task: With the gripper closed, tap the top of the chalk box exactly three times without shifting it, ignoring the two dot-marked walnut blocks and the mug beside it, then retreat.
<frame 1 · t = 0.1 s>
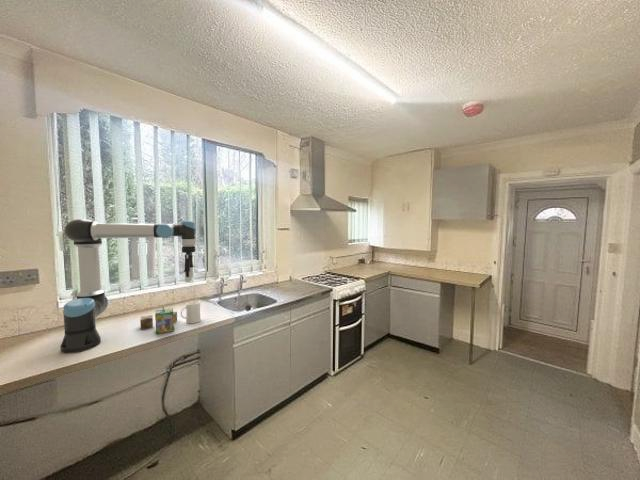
hand: (189, 279, 162), 28 cm above the countertop, fingers open, 13 cm apart
walnut block A: (146, 327, 158), on the countertop
mug: (190, 321, 167), on the countertop
chalk box: (165, 330, 154), on the countertop
walnut block B: (170, 322, 165), on the countertop
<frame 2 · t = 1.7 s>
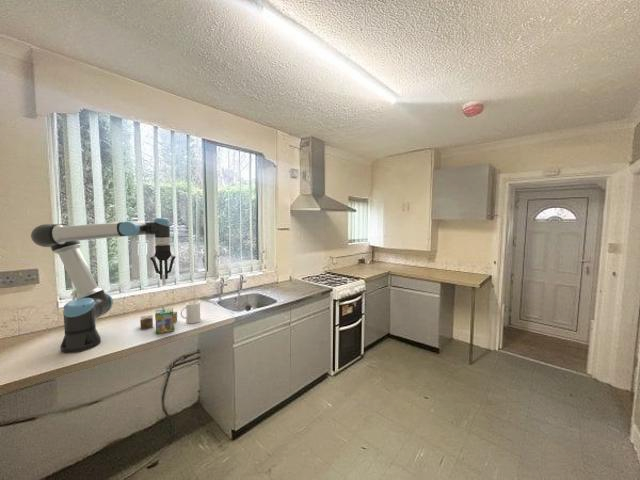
hand: (164, 284, 152), 27 cm above the countertop, fingers closed
nothing on the countertop moved.
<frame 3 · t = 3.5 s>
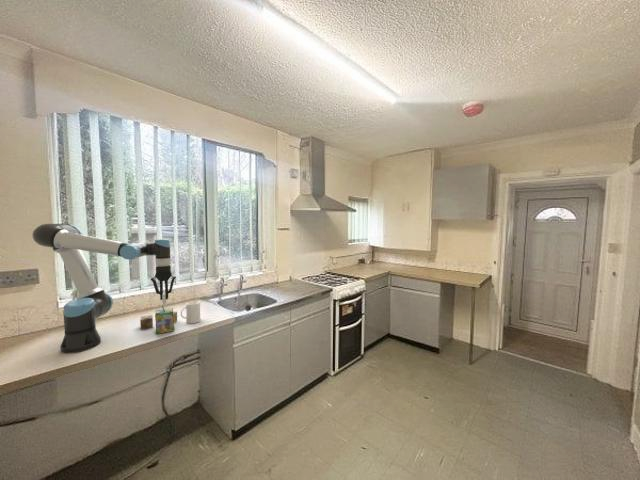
hand: (164, 304, 153), 15 cm above the countertop, fingers closed
chalk box: (165, 330, 154), on the countertop, touching gripper
everything else where it was.
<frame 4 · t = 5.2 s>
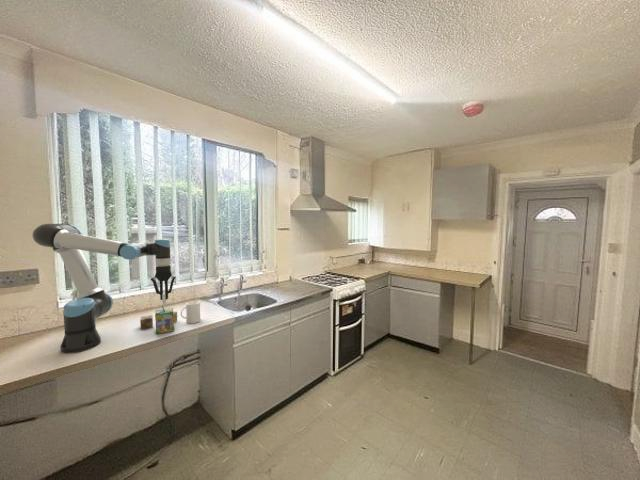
hand: (164, 305, 153), 15 cm above the countertop, fingers closed
nothing on the countertop moved.
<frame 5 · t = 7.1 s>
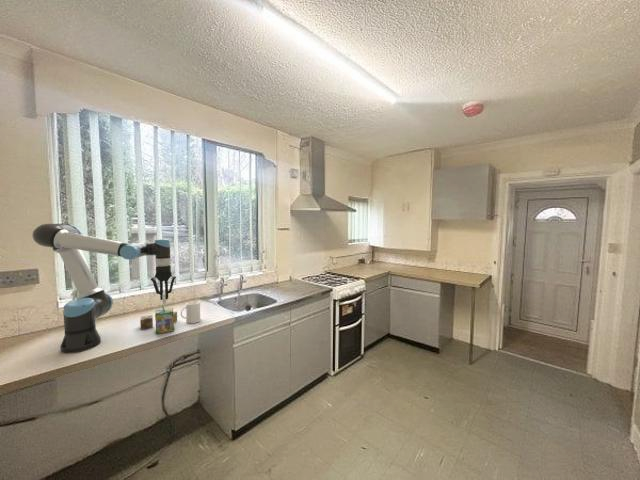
hand: (164, 304, 153), 15 cm above the countertop, fingers closed
nothing on the countertop moved.
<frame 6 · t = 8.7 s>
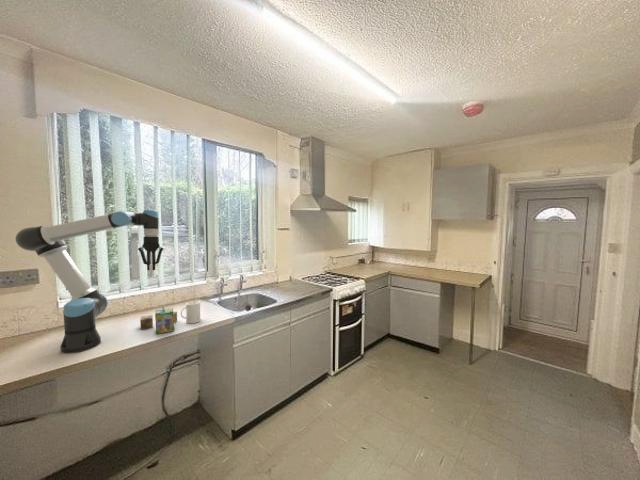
hand: (151, 275, 154), 32 cm above the countertop, fingers closed
chalk box: (165, 330, 154), on the countertop
everything else where it was.
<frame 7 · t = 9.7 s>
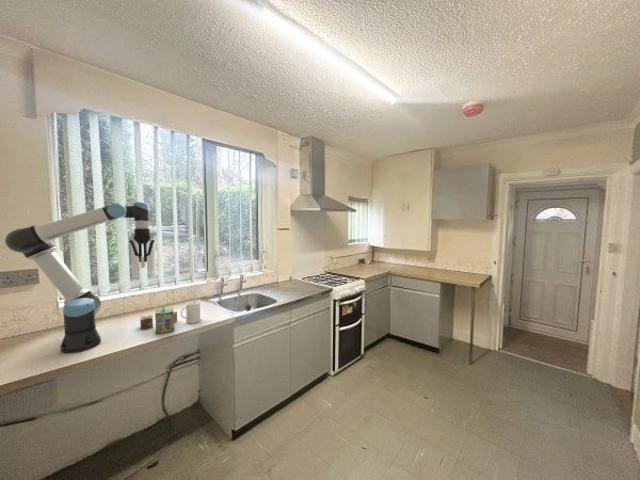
hand: (143, 267, 156), 36 cm above the countertop, fingers closed
nothing on the countertop moved.
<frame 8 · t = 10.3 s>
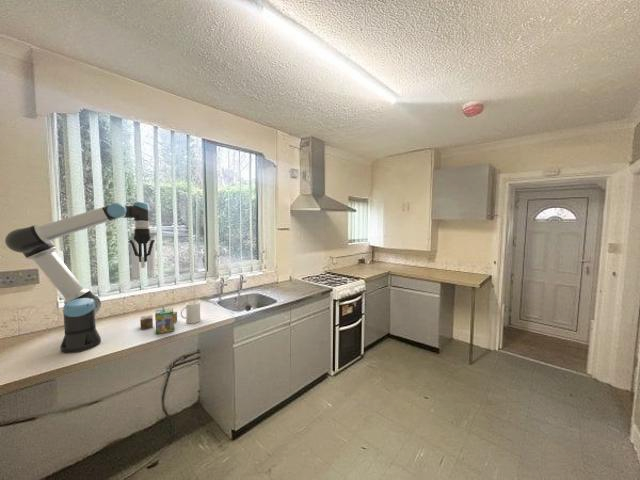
hand: (143, 267, 156), 36 cm above the countertop, fingers closed
nothing on the countertop moved.
at the end: chalk box moved 0.3 cm from its start; chalk box tilted 0°; mug moved 0.2 cm from its start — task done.
